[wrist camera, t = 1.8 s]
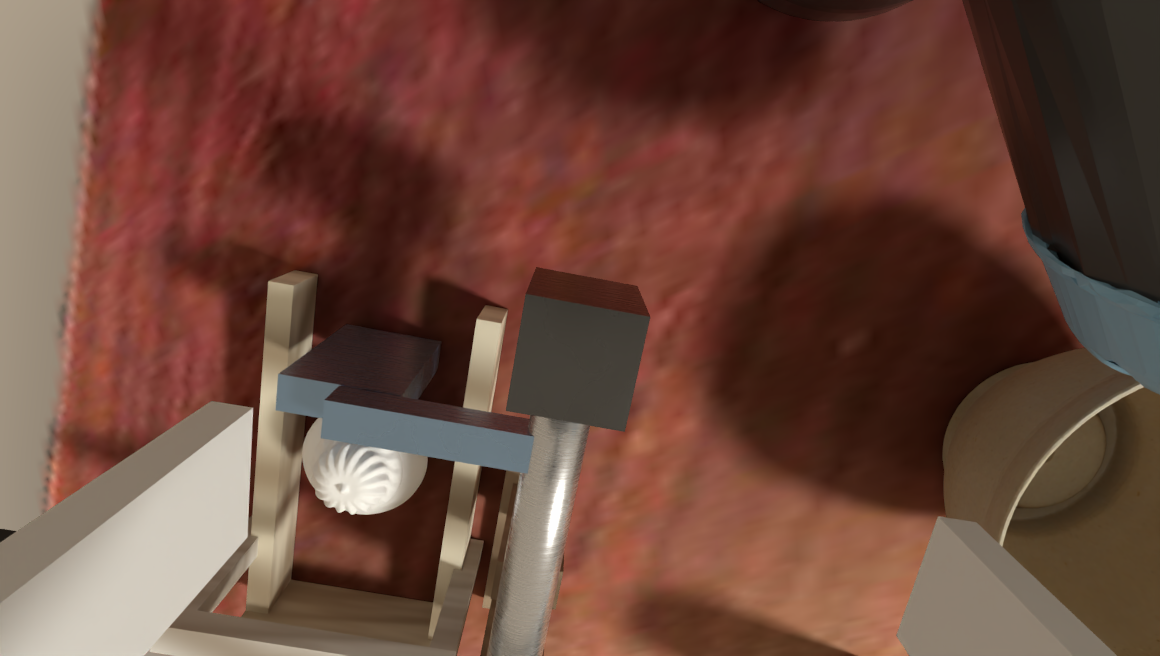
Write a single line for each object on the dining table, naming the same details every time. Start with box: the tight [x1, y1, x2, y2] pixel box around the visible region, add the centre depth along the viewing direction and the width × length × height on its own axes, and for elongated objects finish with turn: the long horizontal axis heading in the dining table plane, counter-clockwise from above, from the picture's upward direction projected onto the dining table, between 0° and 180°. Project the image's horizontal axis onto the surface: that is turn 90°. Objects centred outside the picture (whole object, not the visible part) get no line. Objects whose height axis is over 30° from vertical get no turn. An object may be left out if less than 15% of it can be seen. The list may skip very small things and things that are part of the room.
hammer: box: [275, 267, 650, 656], centre depth 29 cm, size 21×14×13 cm, turn 169°
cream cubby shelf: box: [480, 470, 564, 656], centre depth 34 cm, size 9×4×8 cm, turn 169°
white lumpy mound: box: [302, 418, 428, 515], centre depth 33 cm, size 6×6×7 cm
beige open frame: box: [150, 270, 508, 656], centre depth 32 cm, size 20×13×10 cm, turn 169°
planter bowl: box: [943, 348, 1160, 656], centre depth 31 cm, size 16×16×11 cm
